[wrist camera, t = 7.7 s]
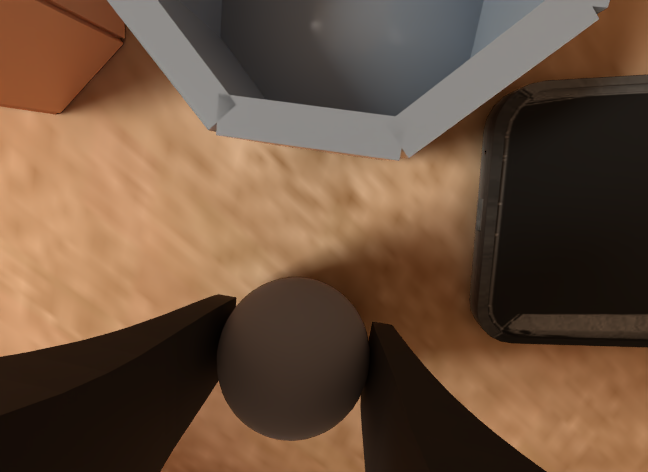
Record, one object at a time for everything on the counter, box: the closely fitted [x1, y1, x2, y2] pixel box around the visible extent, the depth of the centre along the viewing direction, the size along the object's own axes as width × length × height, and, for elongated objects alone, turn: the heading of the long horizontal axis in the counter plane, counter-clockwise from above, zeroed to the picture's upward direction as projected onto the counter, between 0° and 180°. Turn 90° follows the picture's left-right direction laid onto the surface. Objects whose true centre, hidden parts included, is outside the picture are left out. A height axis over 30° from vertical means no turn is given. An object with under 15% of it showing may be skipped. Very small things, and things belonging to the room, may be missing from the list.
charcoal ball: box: [217, 277, 370, 441], centre depth 9 cm, size 4×4×4 cm
